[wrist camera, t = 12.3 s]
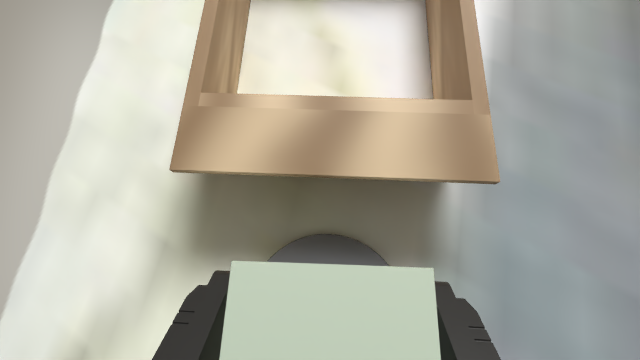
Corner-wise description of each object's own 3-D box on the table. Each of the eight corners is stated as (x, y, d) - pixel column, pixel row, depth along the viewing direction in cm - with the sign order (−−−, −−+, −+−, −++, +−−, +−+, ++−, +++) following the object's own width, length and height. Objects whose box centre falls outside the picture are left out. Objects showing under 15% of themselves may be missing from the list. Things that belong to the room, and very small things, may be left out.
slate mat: (403, 238, 18) (405, 237, 17) (410, 415, 15) (413, 421, 15) (256, 232, 18) (253, 231, 18) (237, 405, 15) (233, 410, 15)
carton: (428, -70, 26) (452, -147, 21) (455, 205, 18) (500, 181, 14) (252, -72, 26) (236, -148, 22) (208, 195, 19) (169, 169, 14)
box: (372, 272, 17) (433, 268, 7) (374, 374, 15) (455, 538, 6) (284, 269, 17) (231, 260, 7) (277, 369, 15) (199, 522, 6)
